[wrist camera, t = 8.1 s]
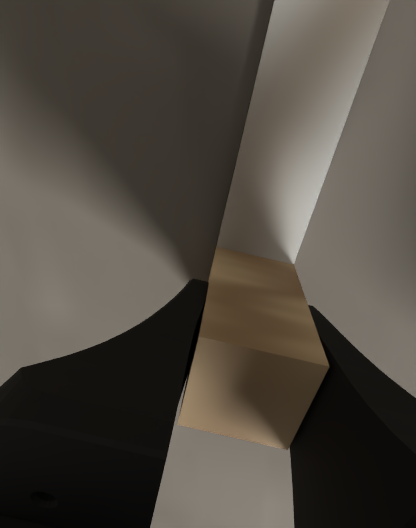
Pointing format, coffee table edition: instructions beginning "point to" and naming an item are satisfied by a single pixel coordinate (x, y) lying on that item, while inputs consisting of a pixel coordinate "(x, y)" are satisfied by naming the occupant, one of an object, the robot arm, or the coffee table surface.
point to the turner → (276, 226)
